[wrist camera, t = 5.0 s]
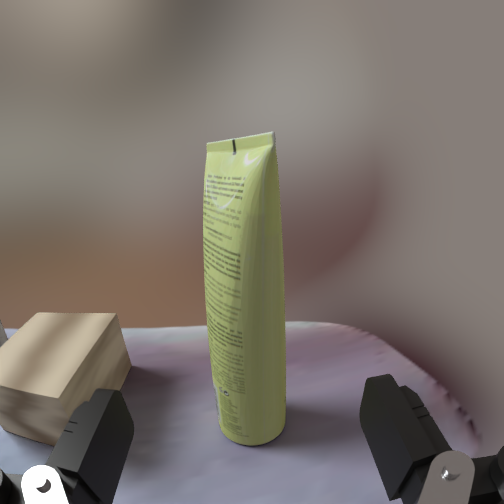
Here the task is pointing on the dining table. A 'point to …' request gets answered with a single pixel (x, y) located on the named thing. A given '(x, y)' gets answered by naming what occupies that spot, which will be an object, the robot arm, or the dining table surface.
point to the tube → (245, 287)
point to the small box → (2, 335)
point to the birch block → (58, 370)
